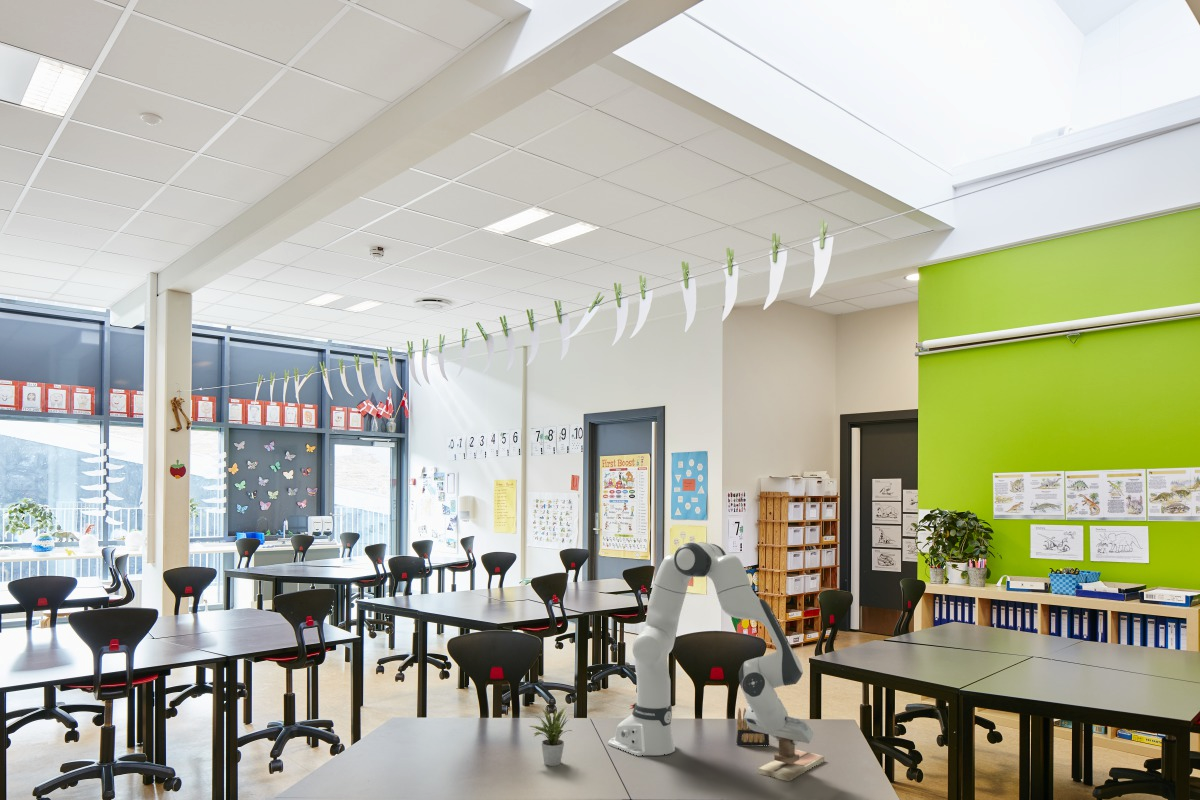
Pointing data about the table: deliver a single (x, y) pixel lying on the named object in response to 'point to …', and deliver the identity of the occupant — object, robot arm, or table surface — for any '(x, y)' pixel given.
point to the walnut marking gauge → (786, 752)
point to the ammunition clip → (749, 733)
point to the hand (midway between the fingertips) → (787, 741)
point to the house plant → (552, 738)
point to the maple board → (791, 766)
